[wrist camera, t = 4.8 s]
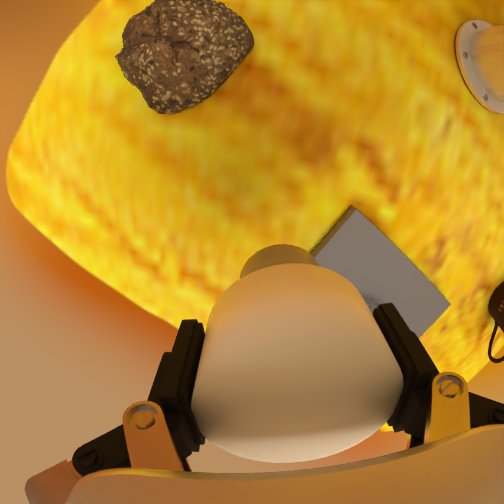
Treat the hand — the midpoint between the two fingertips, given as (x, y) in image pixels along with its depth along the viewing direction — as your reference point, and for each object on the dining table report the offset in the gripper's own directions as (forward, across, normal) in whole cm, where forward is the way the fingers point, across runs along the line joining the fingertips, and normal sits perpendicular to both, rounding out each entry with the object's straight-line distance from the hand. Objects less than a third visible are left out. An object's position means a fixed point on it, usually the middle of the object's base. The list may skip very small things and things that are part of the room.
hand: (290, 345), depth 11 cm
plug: (+5, 0, 0) cm, 5 cm away
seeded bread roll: (+21, +7, -17) cm, 28 cm away
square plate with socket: (+20, -9, +14) cm, 26 cm away
